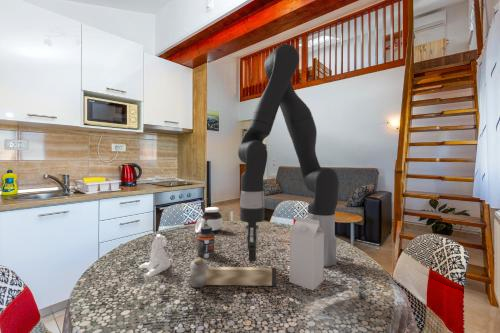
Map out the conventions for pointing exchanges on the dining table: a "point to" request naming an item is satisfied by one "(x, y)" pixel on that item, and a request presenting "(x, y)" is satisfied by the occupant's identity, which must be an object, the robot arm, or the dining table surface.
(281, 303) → the dining table surface
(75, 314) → the dining table surface
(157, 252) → the white creature statuette
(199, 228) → the spread jar
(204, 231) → the supplement bottle
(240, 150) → the robot arm
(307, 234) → the milk carton
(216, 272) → the dial lever
